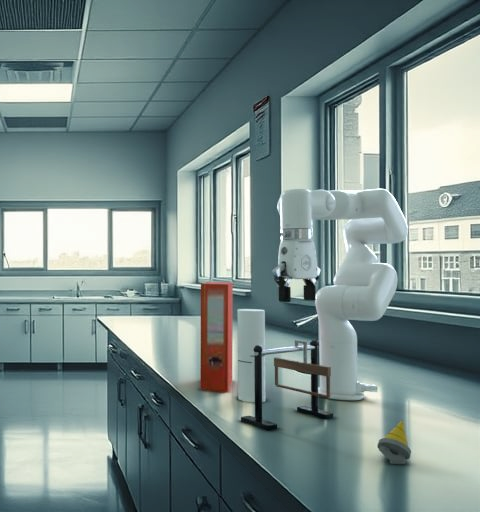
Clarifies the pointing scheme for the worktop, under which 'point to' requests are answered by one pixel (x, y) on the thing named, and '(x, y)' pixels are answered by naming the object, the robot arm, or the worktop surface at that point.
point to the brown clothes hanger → (303, 370)
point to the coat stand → (258, 420)
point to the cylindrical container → (249, 351)
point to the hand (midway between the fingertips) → (297, 301)
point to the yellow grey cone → (395, 445)
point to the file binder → (216, 336)
